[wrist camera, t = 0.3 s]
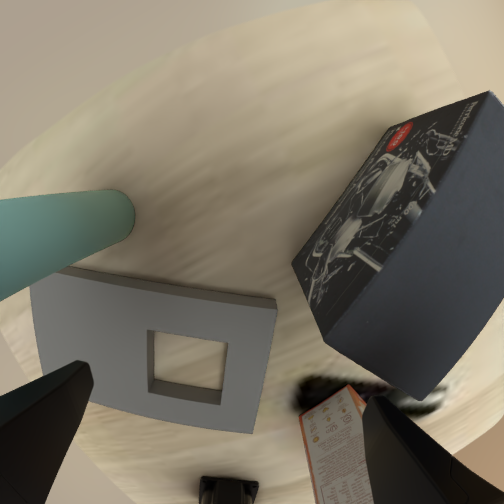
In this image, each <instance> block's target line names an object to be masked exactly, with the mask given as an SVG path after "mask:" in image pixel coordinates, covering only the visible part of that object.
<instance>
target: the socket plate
mask: <svg viewBox="0 0 504 504" xmlns="http://www.w3.org/2000/svg"><path fill="white" fill-rule="evenodd" d="M30 297H31V307H32V315H33V322H34V329H35V336H36V342H37V347H38V353H39V358H40V363H41V367H42V372H43V376H44V375H46V374H49V373H51V372H53V371H55V370H57V369H59V368H61V367H63V366H65V365H67V364H69V363H71V362H73V361H76V360H81V361H85V362H87V363H89V365H90V368H91V372H92V376H93V379H94V387H93V390H92V392H91V395H90V398H89V401H90V402H94V403H97V404H100V405H103V406H107V407H110V408H114V409H117V410H121V411H125V412H128V413H132V414H136V415H140V416H144V417H149V418H153V419H158V420H162V421H167V422H172V423H177V424H182V425H188V426H194V427H200V428H206V429H213V430H221V431H229V432H237V433H247V434H253V430H254V425H255V421H256V416H257V411H258V407H259V402H260V397H261V393H262V388H263V383H264V378H265V373H266V368H267V363H268V358H269V353H270V348H271V343H272V338H273V333H274V327H275V322H276V317H277V311H278V309H277V304H276V300H275V299H267V298H259V297H252V296H244V295H237V294H230V293H223V292H216V291H209V290H202V289H195V288H189V287H182V286H176V285H170V284H164V283H158V282H152V281H146V280H140V279H134V278H128V277H123V276H117V275H112V274H106V273H101V272H95V271H90V270H85V269H80V268H75V267H70V266H67V267H65V268H63V269H61V270H59V271H57V272H55V273H53V274H51V275H49V276H47V277H45V278H43V279H41V280H39V281H37V282H36V283H34V284H32V285H30ZM154 331H159V332H164V333H169V334H175V335H181V336H187V337H193V338H199V339H205V340H212V341H219V342H226V343H228V350H227V358H226V366H225V374H224V382H223V390H222V391H218V390H211V389H205V388H198V387H192V386H187V385H181V384H176V383H170V382H165V381H160V380H155V379H154Z"/></svg>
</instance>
